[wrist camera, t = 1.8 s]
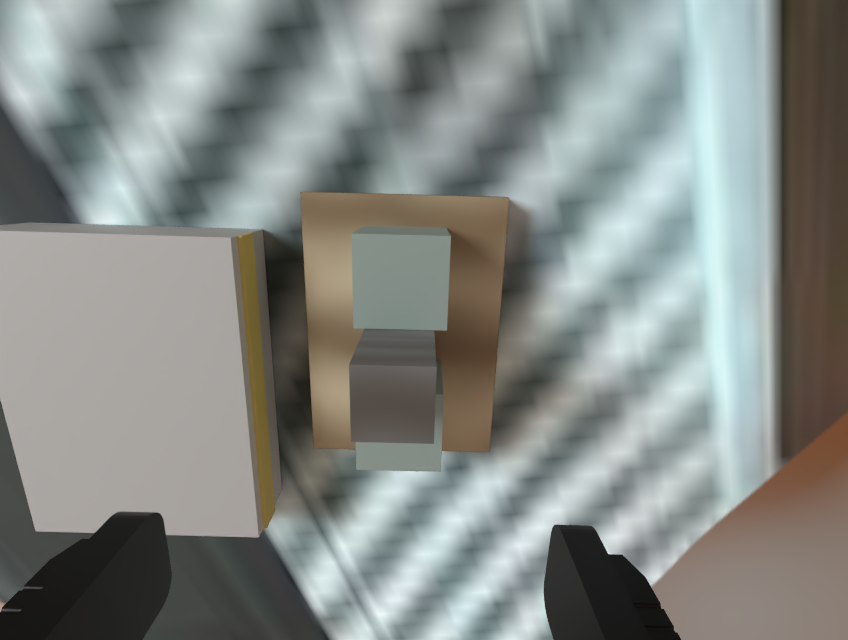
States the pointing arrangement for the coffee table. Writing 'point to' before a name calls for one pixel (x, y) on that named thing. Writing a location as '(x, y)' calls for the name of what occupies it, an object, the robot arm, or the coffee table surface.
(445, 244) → the block
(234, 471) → the block
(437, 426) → the block
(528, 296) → the coffee table surface
